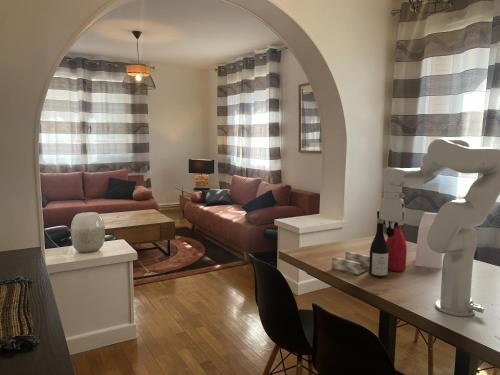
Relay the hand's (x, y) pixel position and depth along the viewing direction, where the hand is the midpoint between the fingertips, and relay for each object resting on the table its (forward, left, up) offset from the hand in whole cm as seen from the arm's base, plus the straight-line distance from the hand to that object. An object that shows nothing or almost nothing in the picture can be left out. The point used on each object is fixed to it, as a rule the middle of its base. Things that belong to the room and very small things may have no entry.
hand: (390, 236), depth 167 cm
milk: (-6, -34, -20) cm, 40 cm away
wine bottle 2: (+3, -14, -20) cm, 24 cm away
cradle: (+18, 0, -19) cm, 26 cm away
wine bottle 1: (+5, 0, -20) cm, 20 cm away
